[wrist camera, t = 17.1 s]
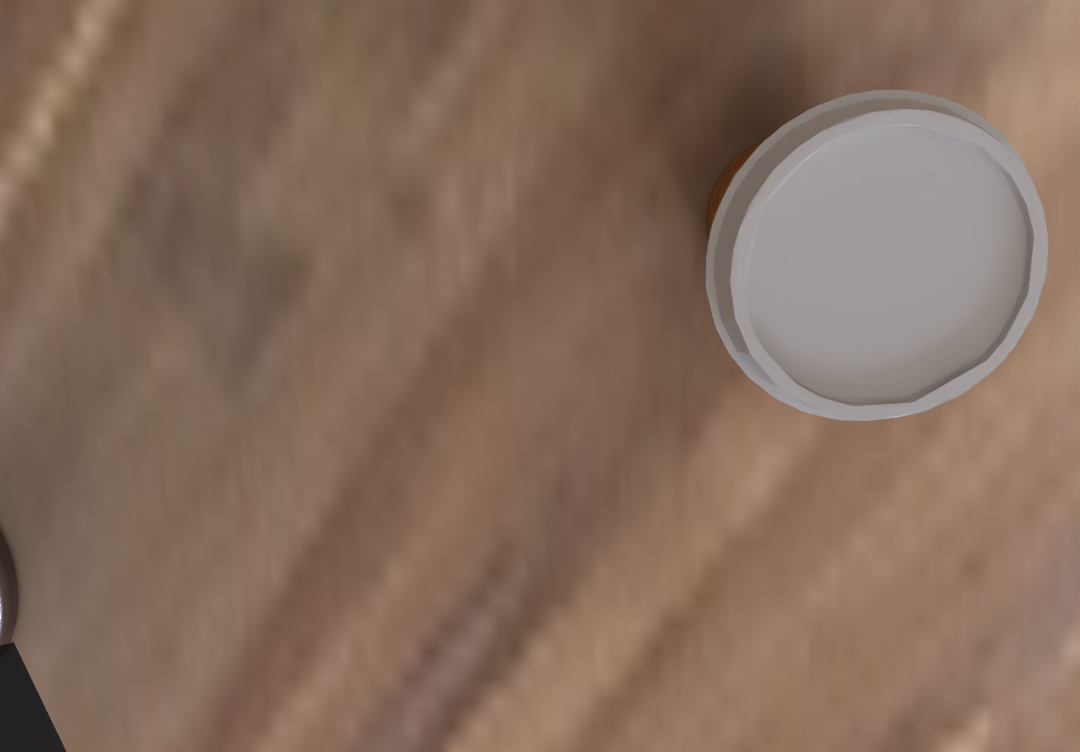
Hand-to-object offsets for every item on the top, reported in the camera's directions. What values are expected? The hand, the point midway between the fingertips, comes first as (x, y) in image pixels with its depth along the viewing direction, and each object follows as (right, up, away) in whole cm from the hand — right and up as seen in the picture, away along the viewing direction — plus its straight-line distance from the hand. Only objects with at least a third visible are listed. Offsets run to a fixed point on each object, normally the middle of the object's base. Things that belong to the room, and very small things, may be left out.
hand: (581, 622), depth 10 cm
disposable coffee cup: (+9, +9, +26) cm, 29 cm away
